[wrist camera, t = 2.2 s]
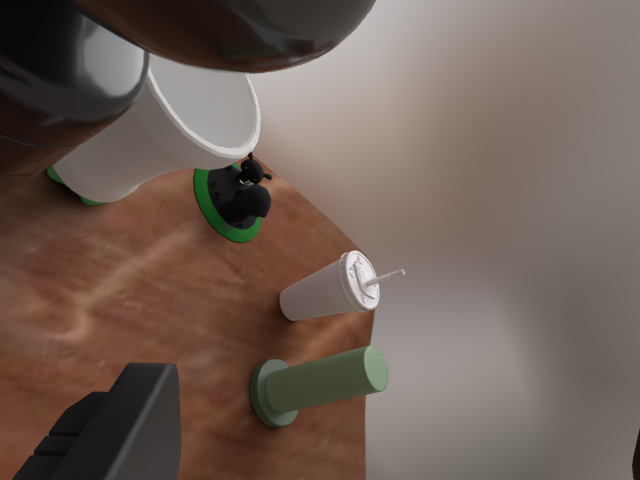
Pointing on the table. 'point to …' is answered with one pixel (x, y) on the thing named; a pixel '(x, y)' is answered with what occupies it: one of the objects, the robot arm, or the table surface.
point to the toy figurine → (234, 198)
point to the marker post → (315, 383)
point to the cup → (166, 132)
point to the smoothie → (335, 289)
